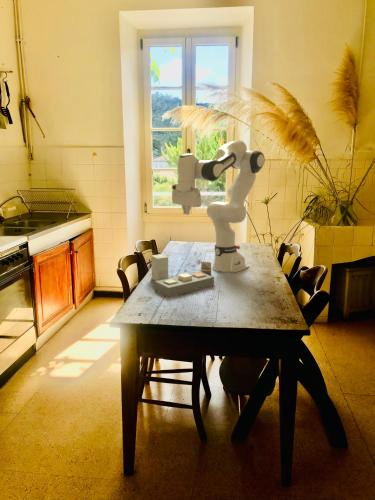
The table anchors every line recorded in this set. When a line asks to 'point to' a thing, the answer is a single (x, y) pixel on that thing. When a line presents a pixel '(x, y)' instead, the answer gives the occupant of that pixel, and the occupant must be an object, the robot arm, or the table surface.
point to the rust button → (199, 275)
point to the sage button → (170, 282)
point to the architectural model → (205, 267)
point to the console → (184, 285)
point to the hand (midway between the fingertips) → (186, 214)
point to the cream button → (184, 277)
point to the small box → (159, 267)
